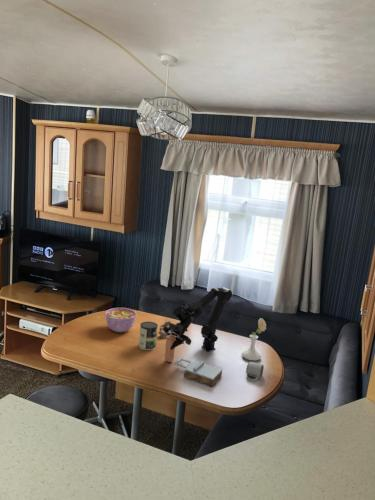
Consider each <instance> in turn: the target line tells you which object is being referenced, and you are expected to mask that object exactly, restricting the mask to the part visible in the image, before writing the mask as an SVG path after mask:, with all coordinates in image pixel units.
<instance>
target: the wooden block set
mask: <svg viewBox="0 0 375 500" xmlns="http://www.w3.org/2000/svg"><path fill="white" fill-rule="evenodd" d="M170 323H171V320H169V319H167V318H164V326H167V327H169V325H170ZM164 326H162V327H159V331H160V334H159V335H160V336H159V337H160V339H162V340H163V339H166V336H168V335H167V334H166V333H165V332H164V331H163V330H162V329H163V327H164ZM171 330H172V329H171ZM172 331H173V330H172ZM175 335H176V334H175Z"/></svg>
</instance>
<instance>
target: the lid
mask: <svg viewBox="0 0 375 500" xmlns="http://www.w3.org/2000/svg"><path fill="white" fill-rule="evenodd" d="M182 361H183V362H186V363H188V364H186V365H184V364H182V363H180V362H182ZM173 365H175V366H177V367H180V368H183V369H184V372H185V371H188V372H191V373H194V374H197V375H199V376H202V377H205V378H208V379H211V380H214V379H215V378H216V377H217V375H218V374H219V373H220V372H221V371H222V372H223V369H222V368H218V367H216V366H213V365H210V364H207V363H205V361H204V360H201V361H198V360H196V359H195V360H189V359H188V358H183V357H179V358H178V359H177V360H176V361H175V362H174V363H173Z"/></svg>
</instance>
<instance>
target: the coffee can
mask: <svg viewBox="0 0 375 500" xmlns="http://www.w3.org/2000/svg"><path fill="white" fill-rule="evenodd" d="M139 326H140V328H139V343H138V347H139V349H141V350H144V351H153V350H155V349H156V348H157V335H158V324H157V323H156V322H154V321H143V322H141V323H140V325H139Z"/></svg>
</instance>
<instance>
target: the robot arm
mask: <svg viewBox="0 0 375 500" xmlns="http://www.w3.org/2000/svg"><path fill="white" fill-rule="evenodd" d="M232 296H233V292H232V290H231V289H229V288H226V287H223V286H221V287H212V288H211V289H210V291H209V292H207V293H206V294H205V295H204V296H203V297H202V298H201V299H199V301H197V302H195V303H192V304H191V305H189V306H187V307H185V306H183V305H180V306H177V307H176V308H174V309H173V310H172V315H173V316H174V317H175V318H177V320H178V321H179V322H176V323H173V322H170V325H169V327H167V326H162V327H163V329H162V330H163V331H164V332H165V333H166V334H167V335H173V336H175V337H176V339H175V342H174V343H173V345H172V346H171V348H170V349H171V350H172V349H174V350H175V348H177V347H179V346H180V345H183V344H186V345H188V346H191V344H192V339H191V338H190V337H189V336H188V335H186V334H185V333H186V332H188V331H189V330H188V328H189V327H190V325H191V323H192V324H195V318H196V319H198V318H199V317H200V316H201V314H202V313H203V312H204V309H206V307H207V306H208V305H209V304H210V303H211V302H213V300H215V299H216V298H217V301H216V304H215V306H214V307H213V311H212V312H211V315H210V317H209V319H208V321H207V323H203V324H202V327H201V328H200V335H202V338H203V341H202V345H201V348H202V349H204V350H205V351H207V352H209V351H215V350H216V347H215V343H216V342H217V341H218V339H219V337H218V336H217V335H216V332H217V328H216V325H217V323H218V321H219V318H220V316H221V315H222V312H223V309H224V307H225V305H226V304H227V303H228V302H229V301H231V298H232ZM171 329H172V330H173V331H172V330H171ZM175 334H176V335H175Z"/></svg>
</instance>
